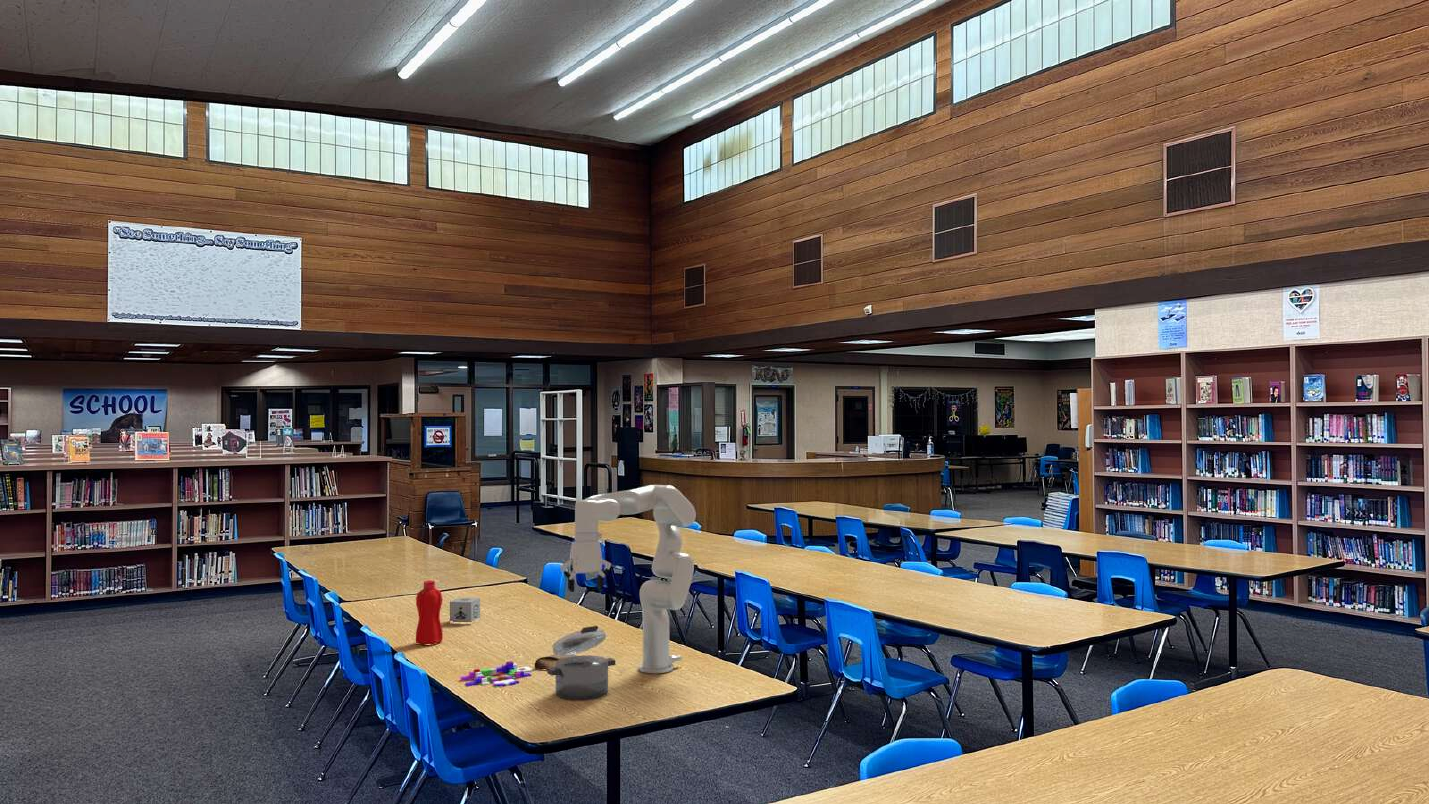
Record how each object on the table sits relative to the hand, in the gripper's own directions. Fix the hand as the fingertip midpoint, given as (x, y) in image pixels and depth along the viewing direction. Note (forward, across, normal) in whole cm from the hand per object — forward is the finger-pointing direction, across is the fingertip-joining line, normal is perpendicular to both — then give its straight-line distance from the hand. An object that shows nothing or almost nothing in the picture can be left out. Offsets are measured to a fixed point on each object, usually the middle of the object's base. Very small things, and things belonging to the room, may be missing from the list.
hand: (585, 590), depth 294 cm
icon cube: (+32, +8, -129) cm, 134 cm away
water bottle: (+33, +31, -96) cm, 107 cm away
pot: (+33, 0, -2) cm, 33 cm away
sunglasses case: (+34, -5, -39) cm, 51 cm away
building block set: (+34, +19, -32) cm, 51 cm away
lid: (+17, +1, -2) cm, 17 cm away
